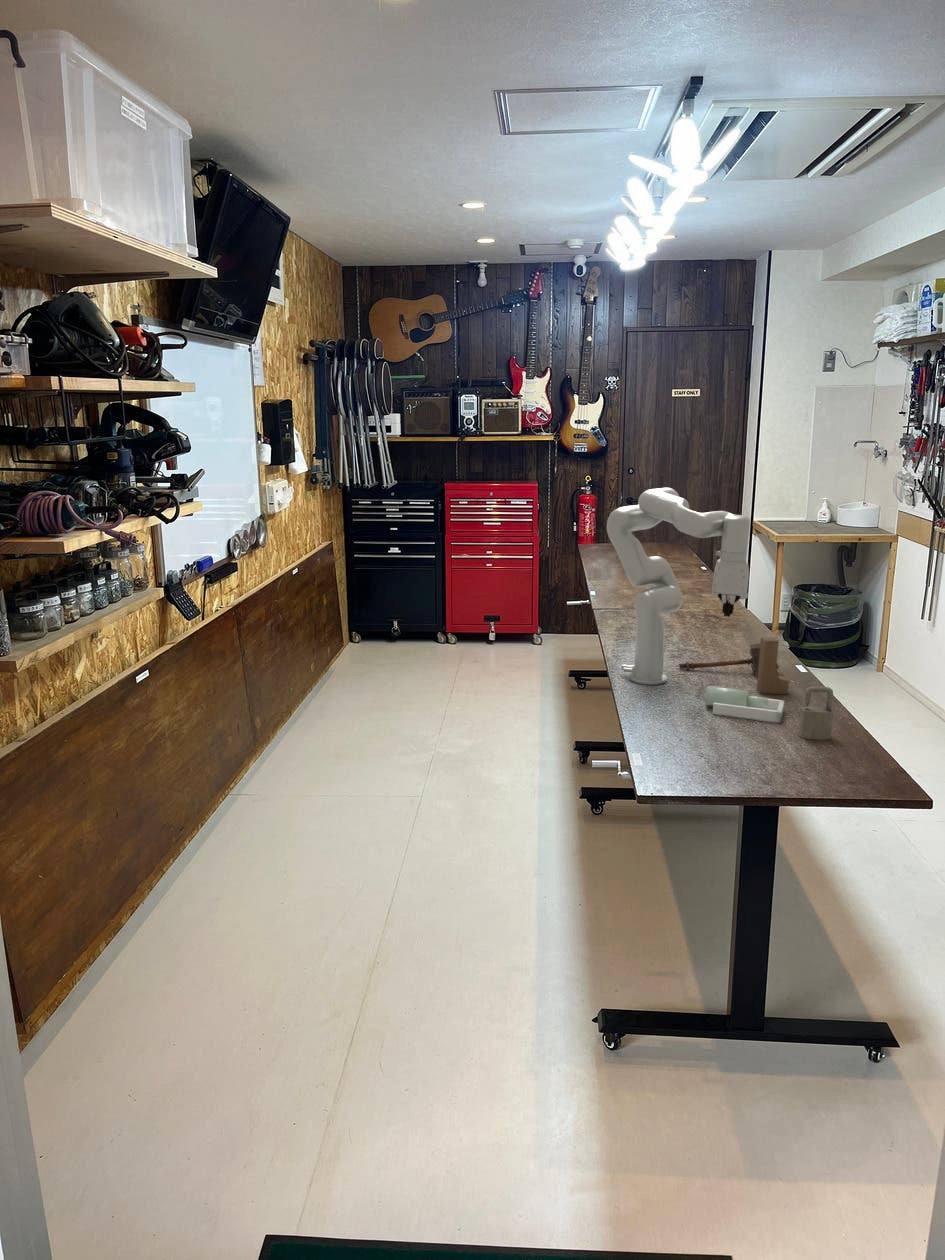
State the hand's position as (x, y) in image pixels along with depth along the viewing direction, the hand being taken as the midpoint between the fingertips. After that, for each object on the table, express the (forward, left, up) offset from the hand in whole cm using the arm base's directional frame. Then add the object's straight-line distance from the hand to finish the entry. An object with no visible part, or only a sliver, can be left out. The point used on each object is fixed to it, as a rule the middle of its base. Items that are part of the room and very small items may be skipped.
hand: (727, 615), depth 276 cm
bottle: (-4, -4, -25) cm, 26 cm away
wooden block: (+14, +18, -29) cm, 36 cm away
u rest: (+9, -5, -29) cm, 30 cm away
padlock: (+29, -18, -29) cm, 44 cm away
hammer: (-3, +34, -29) cm, 45 cm away
